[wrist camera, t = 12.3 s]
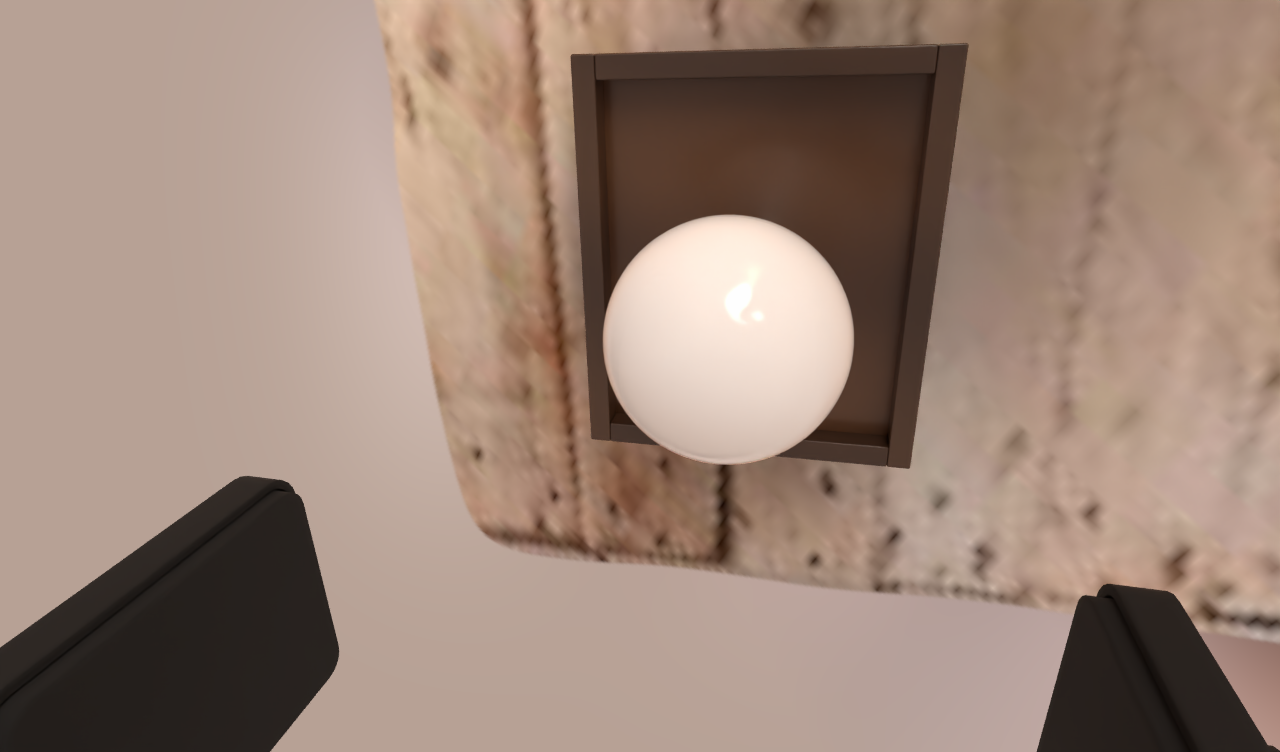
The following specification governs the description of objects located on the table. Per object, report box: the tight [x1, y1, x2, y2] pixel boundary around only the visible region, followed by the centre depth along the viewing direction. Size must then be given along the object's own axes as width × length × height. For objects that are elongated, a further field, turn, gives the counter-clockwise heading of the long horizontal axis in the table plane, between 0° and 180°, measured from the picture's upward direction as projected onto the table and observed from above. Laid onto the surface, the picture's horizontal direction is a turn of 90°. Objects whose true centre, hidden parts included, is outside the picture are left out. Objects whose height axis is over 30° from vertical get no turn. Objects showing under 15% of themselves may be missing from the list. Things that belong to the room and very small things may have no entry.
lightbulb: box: [603, 214, 854, 465], centre depth 21 cm, size 6×6×11 cm
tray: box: [571, 43, 968, 469], centre depth 28 cm, size 14×12×7 cm
